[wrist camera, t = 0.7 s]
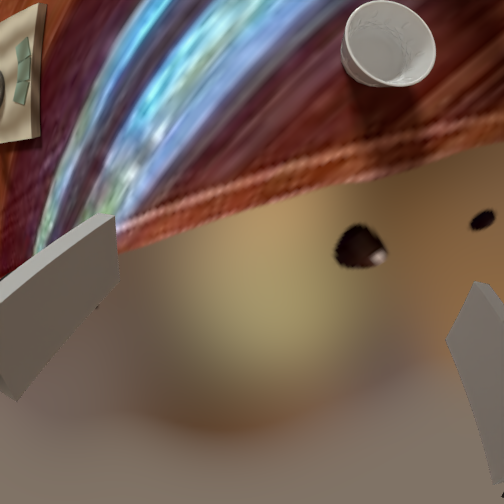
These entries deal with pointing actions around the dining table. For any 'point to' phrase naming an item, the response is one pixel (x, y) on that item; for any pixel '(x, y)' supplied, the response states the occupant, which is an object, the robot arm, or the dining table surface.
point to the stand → (21, 73)
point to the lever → (1, 88)
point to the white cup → (387, 45)
